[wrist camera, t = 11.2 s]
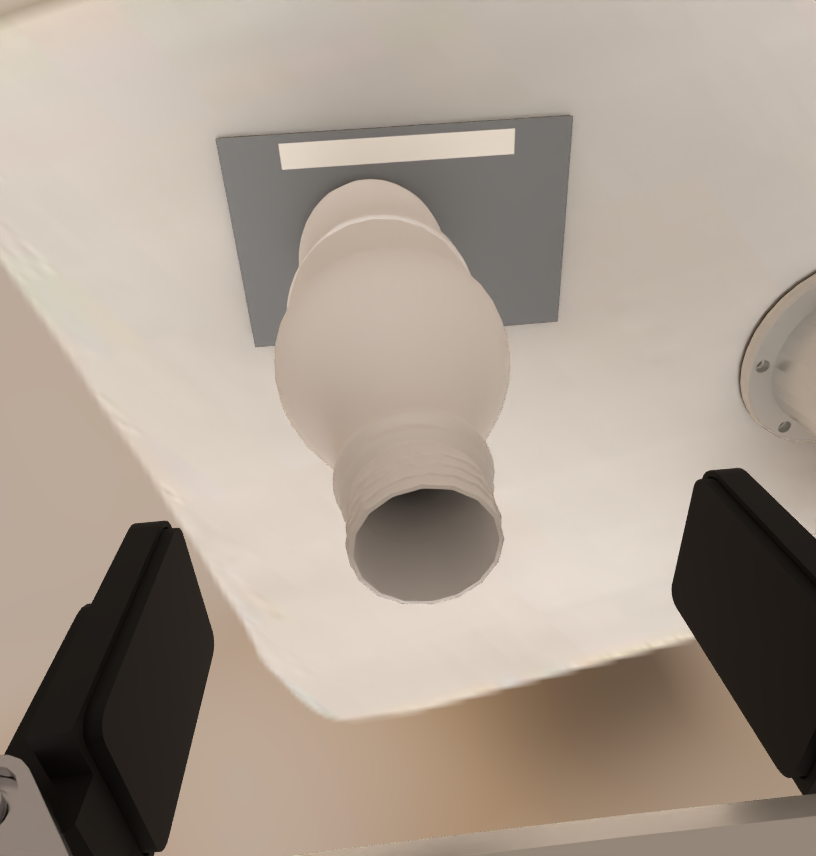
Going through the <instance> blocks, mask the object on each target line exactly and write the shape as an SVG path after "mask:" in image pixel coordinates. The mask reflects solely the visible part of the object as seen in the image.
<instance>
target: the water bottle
mask: <svg viewBox="0 0 816 856" xmlns="http://www.w3.org/2000/svg"><path fill="white" fill-rule="evenodd" d="M509 373H510V355H509V347H508V340H507V335H506V332H505V329H504V326H503V323H502V320H501V317H500V315H499V313H498V311H497V309H496V307H495V304H494V302H493V300H492V299H491V298H490V296H489V295H488V294H487V292H486V291H485V289H484V288H483V287H482V285H481V284H480V283H479V282H478V281H477V280H475V279H474V278H473V277H472V276H471V274H470V272H469V269H468V267H467V265H466V263H465V261H464V259H463V257H462V256H461V255H460V253H459V252H458V250H457V249H456V247H455V246H454V245H453V243H452V242H451V241H450V240H449V239H448V237H447V236H446V235H445V234H444V233H442V232H441V230H440V227H439V225H438V223H437V221H436V219H435V218H434V216H433V215H432V213H431V212H430V210H429V209H428V208H427V206H426V205H425V204H424V203H423V202H422V201H421V200H420V199H419V198H418V197H417V196H416V195H414V194H413V193H411V192H410V191H409V190H407V189H405V188H403V187H401V186H399V185H397V184H395V183H391V182H388V181H385V180H376V179H364V180H356V181H353V182H350V183H348V184H346V185H343V186H341V187H339V188H337V189H335V190H333V191H331V192H330V193H328V194H327V195H326V196H325V197H324V198H323V199H322V200H321V201H320V202H319V203H318V204H317V206H316V207H315V208H314V209H313V211H312V213H311V215H310V216H309V218H308V220H307V222H306V225H305V227H304V230H303V233H302V237H301V241H300V247H299V267H298V269H297V271H296V273H295V275H294V278H293V281H292V284H291V287H290V291H289V295H288V300H287V311H286V313H285V315H284V317H283V319H282V321H281V323H280V327H279V331H278V335H277V339H276V343H275V379H276V385H277V388H278V392H279V396H280V400H281V403H282V406H283V409H284V411H285V413H286V415H287V417H288V419H289V421H290V423H291V425H292V427H293V428H294V429H295V431H296V432H297V433H298V435H299V436H300V438H301V439H302V440H303V442H304V443H305V444H306V446H307V447H308V448H309V449H310V450H311V451H312V452H314V453H315V454H316V455H317V456H318V457H319V458H320V459H321V460H322V461H323V462H325V463H326V464H327V465H328V466H330V467H331V468H332V469H334V472H333V490H334V495H335V498H336V502H337V504H338V506H339V508H340V510H341V512H342V515H343V518H344V521H345V523H346V535H347V536H346V550H347V554H348V558H349V562H350V566H351V567H352V569H353V570H354V571H355V573H356V576H357V578H358V580H359V581H361V582H362V583H363V584H364V585H365V586H367V587H368V588H369V589H370V590H371V591H373V592H374V593H375V594H376V595H377V596H380V597H383V598H386V599H389V600H392V601H395V602H398V603H401V604H430V605H431V604H435V603H439V602H442V601H446V600H450V599H453V598H457V597H460V596H461V595H463V594H464V593H466V592H468V591H469V590H471V589H472V588H474V587H476V586H477V585H479V584H480V583H482V582H483V581H484V580H485V578H486V577H487V576H488V574H489V573H490V572H491V571H492V569H493V568H494V567H495V566H496V564H497V563H498V562H499V558H500V554H501V550H502V546H503V542H504V536H503V531H502V527H501V514H500V512H499V509H498V507H497V505H496V503H495V499H494V495H493V492H494V483H493V482H494V464H493V459H492V456H491V453H490V450H489V447H488V445H487V444H486V442H485V441H486V439H487V437H488V436H489V434H490V432H491V431H492V429H493V427H494V425H495V423H496V421H497V419H498V417H499V415H500V412H501V410H502V408H503V404H504V400H505V396H506V392H507V388H508V384H509Z"/></svg>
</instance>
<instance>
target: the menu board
mask: <svg viewBox="0 0 816 856" xmlns="http://www.w3.org/2000/svg"><path fill="white" fill-rule="evenodd" d="M572 123H573V116H571V115H566V116H551V117H535V118H520V119H504V120H489V121H473V122H458V123H442V124H427V125H411V126H396V127H380V128H365V129H349V130H334V131H318V132H303V133H287V134H272V135H256V136H241V137H225V138H217V139H216V143H217V149H218V154H219V159H220V164H221V170H222V175H223V180H224V185H225V191H226V196H227V201H228V206H229V212H230V217H231V222H232V227H233V233H234V238H235V243H236V248H237V254H238V259H239V264H240V269H241V274H242V280H243V285H244V290H245V295H246V301H247V306H248V311H249V316H250V322H251V327H252V332H253V337H254V343H255V347H264V346H275V343H276V339H277V335H278V331H279V327H280V323H281V321H282V319H283V317H284V315H285V313H286V311H287V300H288V295H289V291H290V287H291V284H292V281H293V278H294V275H295V273H296V271H297V269H298V267H299V247H300V241H301V237H302V233H303V230H304V227H305V225H306V222H307V220H308V218H309V216H310V215H311V213H312V211H313V209H314V208H315V207H316V206H317V204H318V203H319V202H320V201H321V200H322V199H323V198H324V197H325V196H326V195H327V194H328V193H330V192H331V191H333V190H335V189H337V188H339V187H341V186H343V185H346V184H348V183H350V182H353V181H356V180H364V179H376V180H385V181H388V182H391V183H395V184H397V185H399V186H401V187H403V188H405V189H407V190H409V191H410V192H411V193H413V194H414V195H416V196H417V197H418V198H419V199H420V200H421V201H422V202H423V203H424V204H425V205H426V206H427V208H428V209H429V210H430V212H431V213H432V215H433V216H434V218H435V219H436V221H437V223H438V225H439V227H440V230H441V232H442V233H444V234H445V235H446V236H447V237H448V239H449V240H450V241H451V242H452V243H453V245H454V246H455V247H456V249H457V250H458V252H459V253H460V255H461V256H462V257H463V259H464V261H465V263H466V265H467V267H468V269H469V272H470V274H471V276H472V277H473V278H474V279H475V280H477V281H478V282H479V283H480V284H481V285H482V287H483V288H484V289H485V291H486V292H487V294H488V295H489V296H490V298H491V299H492V300H493V302H494V304H495V307H496V309H497V311H498V313H499V315H500V317H501V320H502V323H503V326H509V325H521V324H533V323H544V322H556V321H558V309H559V296H560V282H561V269H562V256H563V242H564V229H565V216H566V202H567V189H568V176H569V163H570V149H571V136H572Z"/></svg>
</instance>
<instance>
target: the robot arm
mask: <svg viewBox="0 0 816 856" xmlns="http://www.w3.org/2000/svg"><path fill="white" fill-rule="evenodd" d="M740 385H741V393H742V398H743V401H744V403H745V406H746V408H747V410H748V412H749V413H750V414H751V416H752V417H753V418H754V420H755V421H757V422H758V423H759V424H760V425H761V426H763V427H764V428H765V429H766V430H767V431H769V432H771V433H772V434H774V435H775V436H777V437H780V438H784V439H787V440H791V441H799V442H815V441H816V274H814V275H812V276H811V277H809V278H808V279H806V280H804V281H803V282H801V283H800V284H798V285H797V286H796V287H795V288H793V289H792V290H791V291H790V292H789V293H788V294H786V295H785V296H784V297H783V298H782V299H781V300H780V301H779V302H778V303H777V304H776V305H775V306H774V307H773V308H772V310H771V311H770V312H769V313H768V314H767V315H766V317H765V318H764V320H763V321H762V322H761V324H760V325H759V327H758V328H757V330H756V331H755V333H754V335H753V337H752V339H751V341H750V343H749V346H748V348H747V350H746V353H745V357H744V360H743V364H742V369H741V379H740ZM672 597H673V601H674V604H675V606H676V608H677V609H678V611H679V612H680V614H681V616H682V617H683V619H684V620H685V622H686V624H687V625H688V627H689V628H690V630H691V632H692V633H693V635H694V636H695V638H696V640H697V641H698V642H699V644H700V646H701V648H702V649H703V651H704V652H705V654H706V656H707V657H708V659H709V660H710V662H711V663H712V665H713V667H714V668H715V670H716V672H717V673H718V675H719V676H720V678H721V679H722V681H723V683H724V684H725V686H726V687H727V689H728V691H729V692H730V694H731V695H732V697H733V699H734V700H735V702H736V703H737V705H738V707H739V708H740V710H741V711H742V713H743V715H744V716H745V718H746V719H747V721H748V722H749V724H750V726H751V727H752V729H753V730H754V732H755V734H756V735H757V737H758V739H759V740H760V742H761V743H762V745H763V746H764V748H765V750H766V751H767V753H768V754H769V756H770V758H771V759H772V761H773V762H774V764H775V766H776V767H777V769H778V770H779V771H780V772H781V773H782V774H783V775H784V776H785V777H788V778H792V779H793V780H794V782H795V783H796V785H797V787H798V788H799V790H800V791H801V793H802V794H803V795H801V796H790V797H781V798H772V799H764V800H754V801H745V802H737V803H728V804H719V805H710V806H701V807H692V808H683V809H674V810H666V811H658V812H648V813H639V814H630V815H622V816H613V817H605V818H596V819H588V820H580V821H571V822H562V823H554V824H545V825H537V826H529V827H520V828H511V829H503V830H495V831H487V832H478V833H470V834H462V835H453V836H444V837H436V838H429V839H420V840H412V841H404V842H396V843H388V844H380V845H372V846H364V847H355V848H347V849H340V850H332V851H323V852H315V853H307V854H299V855H291V856H816V539H815V538H814V537H813V536H812V535H811V534H810V533H809V532H808V531H807V530H806V529H805V528H804V527H803V526H802V525H801V524H800V523H799V522H798V521H797V520H796V519H795V518H794V517H793V516H792V515H791V514H790V513H789V512H788V511H786V510H785V509H784V508H783V507H782V506H781V505H780V504H779V503H778V502H777V501H776V500H775V499H774V498H773V497H772V496H771V495H770V494H769V493H768V492H767V491H766V490H765V489H764V488H763V487H762V486H761V485H760V484H759V483H758V482H757V481H756V480H755V479H753V478H752V477H751V476H750V475H749V474H748V473H747V472H746V471H745V470H743V469H741V468H732V469H721V470H710V471H707V472H706V473H705V474H704V475H703V478H702V479H700V480H697V481H696V483H695V485H694V488H693V493H692V497H691V502H690V506H689V511H688V515H687V520H686V524H685V529H684V533H683V538H682V542H681V547H680V551H679V556H678V560H677V565H676V569H675V574H674V578H673V583H672ZM213 651H214V637H213V631H212V628H211V625H210V622H209V618H208V615H207V612H206V608H205V605H204V602H203V598H202V595H201V592H200V589H199V585H198V582H197V579H196V575H195V572H194V569H193V565H192V562H191V559H190V555H189V552H188V549H187V546H186V542H185V539H184V536H183V533H182V531H181V529H180V528H172V527H171V525H170V524H169V522H168V521H158V522H146V523H135V524H133V525H131V527H130V528H129V530H128V532H127V534H126V536H125V538H124V540H123V542H122V544H121V546H120V548H119V550H118V552H117V554H116V556H115V558H114V560H113V562H112V564H111V566H110V568H109V570H108V572H107V574H106V576H105V578H104V580H103V582H102V584H101V586H100V588H99V590H98V592H97V594H96V596H95V598H94V600H93V602H92V604H87V605H85V606H84V607H82V608H81V610H80V611H79V613H78V614H77V615H76V618H75V619H74V622H73V623H72V625H71V627H70V629H69V631H68V633H67V635H66V637H65V639H64V640H63V642H62V644H61V646H60V648H59V650H58V652H57V654H56V656H55V658H54V660H53V662H52V664H51V666H50V667H49V669H48V671H47V673H46V675H45V677H44V679H43V681H42V683H41V685H40V687H39V689H38V691H37V693H36V694H35V696H34V698H33V700H32V702H31V704H30V706H29V708H28V710H27V712H26V714H25V716H24V718H23V719H22V721H21V723H20V725H19V727H18V729H17V731H16V733H15V735H14V737H13V739H12V741H11V743H10V745H9V746H8V748H7V750H6V752H5V754H4V755H0V856H154V852H161V851H163V850H164V848H165V846H166V844H167V841H168V838H169V834H170V830H171V826H172V821H173V817H174V813H175V809H176V805H177V801H178V797H179V792H180V789H181V784H182V780H183V776H184V772H185V767H186V764H187V759H188V756H189V751H190V747H191V743H192V739H193V735H194V731H195V727H196V723H197V718H198V714H199V710H200V706H201V702H202V698H203V694H204V690H205V685H206V681H207V677H208V673H209V669H210V665H211V661H212V656H213Z"/></svg>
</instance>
